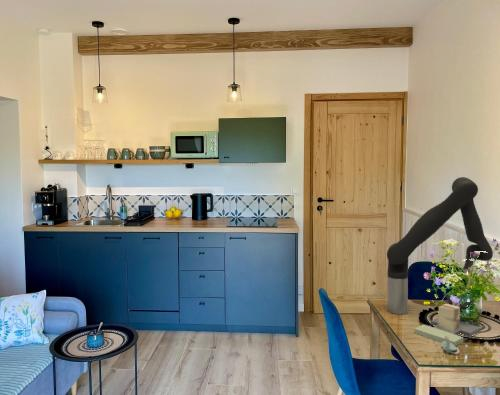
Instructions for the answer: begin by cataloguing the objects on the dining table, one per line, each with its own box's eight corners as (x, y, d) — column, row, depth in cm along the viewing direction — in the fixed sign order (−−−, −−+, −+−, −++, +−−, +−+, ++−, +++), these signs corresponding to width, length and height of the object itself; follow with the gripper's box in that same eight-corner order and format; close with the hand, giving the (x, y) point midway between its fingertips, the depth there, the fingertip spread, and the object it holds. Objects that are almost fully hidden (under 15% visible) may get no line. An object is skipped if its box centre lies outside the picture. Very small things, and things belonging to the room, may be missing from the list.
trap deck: (441, 320, 184) (441, 315, 183) (480, 331, 170) (480, 327, 170) (414, 333, 170) (414, 328, 170) (454, 347, 157) (454, 342, 157)
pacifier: (457, 348, 157) (440, 346, 158) (458, 332, 156) (441, 330, 158) (461, 356, 150) (444, 354, 151) (462, 340, 149) (444, 338, 151)
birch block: (445, 323, 175) (445, 303, 174) (459, 327, 170) (459, 307, 169) (438, 327, 171) (438, 306, 170) (452, 331, 166) (452, 310, 166)
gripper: (449, 274, 182) (434, 306, 176) (479, 280, 172) (465, 315, 165) (454, 283, 186) (440, 315, 179) (485, 290, 175) (471, 324, 169)
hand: (452, 315), depth 172 cm, fingers closed
